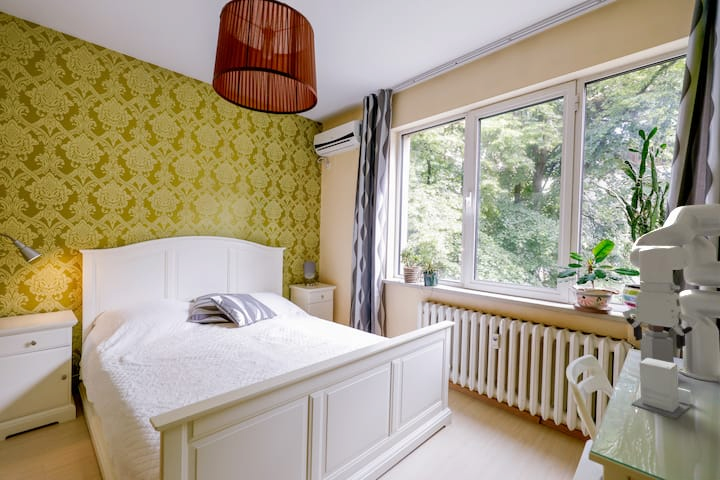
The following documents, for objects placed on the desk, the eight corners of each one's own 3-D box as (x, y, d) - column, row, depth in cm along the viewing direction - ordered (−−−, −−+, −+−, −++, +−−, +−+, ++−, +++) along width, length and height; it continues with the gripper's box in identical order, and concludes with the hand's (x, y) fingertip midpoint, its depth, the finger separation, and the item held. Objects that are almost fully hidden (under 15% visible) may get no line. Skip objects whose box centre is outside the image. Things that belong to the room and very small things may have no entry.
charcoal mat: (647, 394, 106) (647, 393, 106) (689, 407, 97) (689, 406, 97) (631, 404, 100) (631, 403, 100) (675, 419, 91) (675, 417, 91)
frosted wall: (642, 389, 110) (641, 377, 110) (691, 403, 100) (690, 390, 100) (640, 390, 109) (640, 378, 109) (689, 404, 99) (689, 391, 99)
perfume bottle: (674, 375, 121) (672, 327, 121) (653, 374, 122) (651, 326, 122) (661, 368, 127) (659, 322, 128) (641, 367, 129) (639, 322, 129)
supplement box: (680, 405, 98) (678, 363, 98) (672, 413, 94) (671, 369, 94) (648, 396, 104) (647, 356, 104) (640, 403, 100) (638, 361, 100)
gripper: (700, 289, 94) (702, 348, 94) (627, 283, 109) (629, 335, 109) (691, 292, 90) (694, 354, 90) (617, 286, 105) (619, 339, 105)
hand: (658, 343), depth 99 cm, fingers open, 9 cm apart
